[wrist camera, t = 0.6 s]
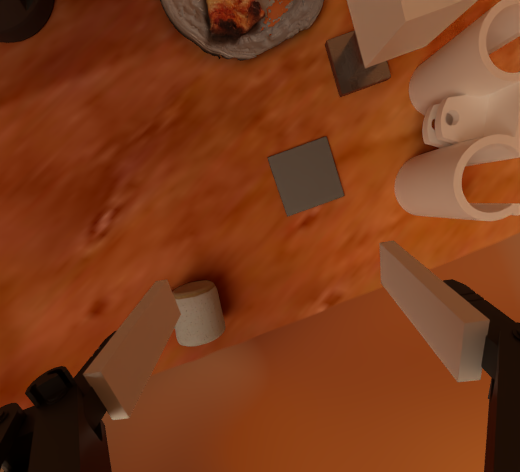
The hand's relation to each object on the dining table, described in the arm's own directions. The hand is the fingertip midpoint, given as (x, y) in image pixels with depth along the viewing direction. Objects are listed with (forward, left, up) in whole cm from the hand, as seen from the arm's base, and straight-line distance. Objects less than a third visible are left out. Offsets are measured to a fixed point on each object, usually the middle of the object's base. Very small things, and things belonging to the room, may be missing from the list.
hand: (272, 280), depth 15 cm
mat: (-6, +11, -26) cm, 29 cm away
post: (-20, +24, -26) cm, 40 cm away
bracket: (-5, +32, -27) cm, 42 cm away
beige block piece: (-20, +24, -18) cm, 36 cm away
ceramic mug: (+8, -15, -27) cm, 32 cm away
